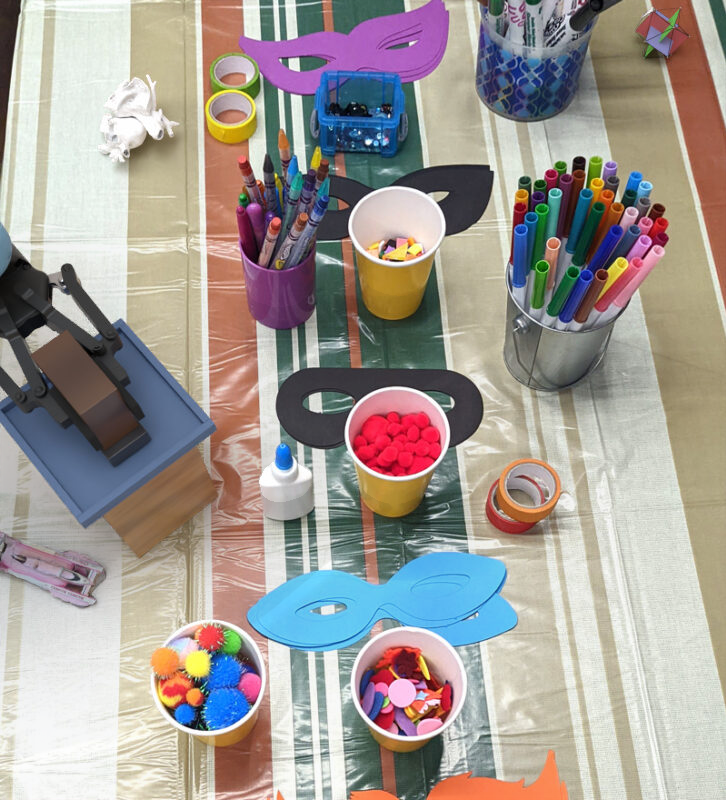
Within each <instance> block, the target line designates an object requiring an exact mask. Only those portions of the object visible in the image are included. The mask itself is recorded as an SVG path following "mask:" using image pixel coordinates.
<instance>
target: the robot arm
mask: <svg viewBox="0 0 726 800" xmlns="http://www.w3.org/2000/svg"><path fill="white" fill-rule="evenodd" d="M54 289H58V290H59V292H60V293H61V294H64V295H66V296H71V299H72V300H73V302H74V303H75V305H76V306H77V308H78V309H79V310H80V311H81V312H82V314H83V315H84V316H85V318H86V319H87V320H88V321H89V323H90V324H91V325H92V326H93V328H94V329H95V330H96V331H97V332H98V333H99V334H100V335H101V336H102V337H103V338H102V339H101V340H100V341H98V340H97V339H96V338H94V335H92V334H91V333H89V332H87V331H86V330H85V329H84V328H82V327H81V326H80V325H78V324H77V323H75V322H74V321H73V320H71V319H70V318H68V316H66V315H65V314H63V313H62V312H60V311H59V310H58V309H56V307H54V305H53V296H54V294H53V293H54ZM110 321H111V320H109V319H108V318H107V316H106V315H105V314H104V312H103V311H102V310H101V309H100V308H99V306H98V305H97V304H96V303H95V301H94V300H93V298H91V297H90V295H89V294H88V293H87V292H86V290H85V289H84V288H83V285H82V281H81V279H80V277H79V275H78V273H77V271H76V269H75V268H74V266H73V264H72V263H69V262H67V263H66V262H65V263H63V264H62V265H61V266H60V271H57V272H54V273H49V274H47V273H46V272H45V271H44V270H40V269H38V268H35V267H34V266H33V265H32V263H31V262H30V261H29V260H28V259H27V258H26V257H25V255H24V254H23V253H22V252H21V251H20V250H19V249H18V248H17V247H16V245H15V244H14V243H13V242H12V238H11V235H10V234H9V231H7V229H6V228H5V226H4V224H3V223H2V222H1V220H0V339H5V340H7V341H8V344H9V345H10V347H11V350H12V352H13V354H14V356H15V358H16V360H17V363H18V364H19V367H20V368H21V371H22V373H23V375H24V377H25V380H26V382H27V383H29V386H30V388H31V390H28V391H25V392H23V391H22V390H21V389H20V386H19V385H18V384H17V383H16V382H15V381H14V380H13V378H12V377H11V376H10V374H8V373H7V371H6V370H5V369H4V368H3V366H1V365H0V388H1V389H2V391H3V392H4V393H5V394H6V395H7V396H9V397H10V398H11V399H12V401H13V402H14V403H15V404H16V405H17V406H18V407H19V408H20V410H21V411H22V412H23V413H26V414H28V413H31V412H32V411H33V410H34V409H35V408H39V407H42V408H45V409H46V410H47V411H48V413H49V414H50V415H51V416H52V417H53V419H54V420H55V421H56V422H57V424H58V425H59V426H60V427H61V428H63V429H65V430H66V429H67V428H68V427H70V426H71V425H73V424H75V426H76V427H77V428H78V429H79V431H80V432H81V433H82V434H83V435H84V437H85V438H86V439H87V440H88V442H89V443H90V444H91V445H92V446H93V448H94V449H95V450H96V451H97V452H98V451H99V450H100V449H102V448H103V445H102V444H101V442H100V441H99V439H98V438H97V437H96V435H95V434H94V433H93V432H92V430H91V429H90V428H89V427H88V425H87V424H85V422H84V421H83V420H82V419H81V418H80V416H79V415H78V414H77V413H76V411H75V410H74V409H73V408H72V407H71V405H70V404H69V403H68V402H67V401H66V399H65V398H64V397H63V396H62V395H61V393H60V392H59V391H58V390H57V388H56V387H55V386H54V387H52V388H51V389H49V388H48V385H47V383H46V381H45V379H44V377H43V375H42V371H41V370H40V368H39V367H38V366H37V364H36V363H35V361H34V360H33V359H32V357H31V356H30V354H32V353H33V352H32V350H31V348H30V345H29V343H28V341H27V338H28V337H29V336H30V335H31V334H33V332H34V331H35V330H38V329H41V328H43V327H44V326H45V327H47V328H48V329H50V330H51V331H52V332H54V333H55V332H56V333H57V334H58V335H59V334H61V333H62V332H64V331H65V330H68V332H69V333H70V334H71V335H72V336H73V337H74V339H75V340H76V341H77V342H78V343H79V344H80V346H81V347H82V348H83V349H84V350H85V351H86V353H87V354H88V355H89V356H90V357H91V358H92V360H93V361H94V362H95V363H96V364H97V366H98V367H99V368H100V369H101V370H102V371H103V373H104V374H105V375H106V376H107V377H108V378H109V380H110V381H111V382H112V383H113V384H114V385H115V387H116V388H117V389H118V391H119V393H120V394H121V396H122V398H123V400H124V401H125V403H126V405H127V407H128V408H129V410H130V412H131V413H132V414H133V415H134V416H135V417H136V419H137V420H138V421H140V420H141V419H143V418H144V417H145V415H144V413H143V411H142V409H141V408H140V406H139V404H138V403H137V401H136V400H135V399H134V398H133V397H132V396H131V395H130V393H129V392H128V391H127V390H126V389H125V387H126V386H127V385H129V384H130V383H131V381H130V378H129V376H128V374H127V372H126V371H125V369H124V368H123V367H122V366H121V365H120V364H119V363H118V361H117V360H116V359H115V358H114V355H115V353H116V352H117V351H119V350H121V349H122V348H123V343H122V340H121V338H120V336H119V335H118V333H117V331H116V329H115V328H114V326H113V325H112V324H113V323H111V322H110Z"/></svg>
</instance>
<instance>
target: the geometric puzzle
mask: <svg viewBox="0 0 726 800" xmlns="http://www.w3.org/2000/svg"><path fill="white" fill-rule="evenodd" d="M673 9H675V10H676V7H673V8H672V7H671V8H670V10H673ZM665 10H667V8H663V9H660V10H659V9H657V8H656V7H654V6H651V7H650V8H649V9H647V10H646V11H645V12H643V14H641V16H640V19H639V21H638V23H637V25H636V28H635V29H634V32H635V33H636V34H635V35H636V37H637V41H638V43H639V47H640V48H641V45H640V39H639V37H638V36H640V38H641V39H642V40H643V41H644V43H645V44H647V48H646V49H644V51H643V59H651V56H648V55H649V54H650V53H651V52H652V51H653V50H654V49H655V50H657V52H659V53H660V54H662V55H663V57H665V58H667V59H668V58H669V57H670V56H672V54H674V52H676V51H677V50H678V49H679V48H680V46H682V45H683V44H684V42H685V41H687V40H688V39H689V38H690V37H691V36H690V34H689V30H688V29H686V31H687V32H688V33H687V32H686V31H685V30H684V29H683V28H682V27H681V26H680V22H678V24H677V20H678V19H680V18H681V17H680V16H681V13H680V12H681V10H682V7H681V6H680V7H679V8H678V10H677V11H676V12H675V13H674V14H672V16H671V17H670V18H669V17H668V16H666V15H665V14H664V13H662V12H661V11H665ZM644 18H645V19H644ZM643 19H644V20H643ZM682 19H683V21H684V22H686V21H685V18H684V14H683V13H682ZM642 20H643V21H642ZM643 37H644V38H645V39H644V38H643ZM647 56H648V57H647ZM654 58H661V56H660V55H657V56H653V59H654Z"/></svg>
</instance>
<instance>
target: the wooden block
mask: <svg viewBox="0 0 726 800" xmlns="http://www.w3.org/2000/svg"><path fill="white" fill-rule="evenodd" d="M219 497H220V494H219V492H218V490H217V488H216V486H215V484H214V481H213V479H212V477H211V474H210V472H209V469H208V468H207V465H206V463H205V461H204V459H203V456H202V454H201V451H200V449H199V447H198V445H197V446H195V447H194V448H193V449H191V450H190V451H189V452H187V453H186V454H185V455H183V456H182V457H181V458H179V459H178V460H177V461H175V462H174V463H173V464H171V465H170V466H169V467H167V468H166V469H165V470H163V471H162V472H161V473H159V474H158V475H157V476H155V477H154V478H153V479H151V480H150V481H149V482H147V483H146V484H145V485H143V486H142V487H141V488H139V489H138V490H137V491H135V492H134V493H133V494H131V495H130V496H129V497H127V498H126V499H125V500H123V501H122V502H121V503H119V504H118V505H117V506H115V507H114V508H113V509H112V510H110V511H109V512H108V513H106V514H105V515H104V516H102V517H103V518H104V519H105V520H106V522H107V523H108V524H109V525H110V527H111V528H112V529H113V530H114V531H115V532H116V534H117V535H118V536H119V537H120V538H121V540H123V542H124V543H125V544H126V545H127V546H128V548H129V549H130V550H131V551H132V553H133V554H134V555H135V556H136V557H137V558H138V559H140V558H142V557H143V556H145V554H147V553H148V552H149V551H150V550H152V549H154V548H155V547H156V546H157V545H158V544H160V543H161V542H162V541H164V540H165V539H166V538H168V537H169V536H170V535H172V534H173V533H174V532H175V531H177V530H178V529H179V528H180V527H182V526H183V525H184V524H185V523H187V522H188V521H189V520H191V519H192V518H194V516H196V515H197V514H199V513H200V512H201V511H203V510H204V509H205V508H206V507H207V506H209V505H210V504H211V503H213V502H214V501H216V500H217V499H218V498H219Z"/></svg>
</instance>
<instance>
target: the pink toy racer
mask: <svg viewBox="0 0 726 800" xmlns="http://www.w3.org/2000/svg"><path fill="white" fill-rule="evenodd" d="M2 544H3V547H2V549H1V550H0V571H2V572H3V573H5V574H9V575H13V576H14V577H15V578H18V579H19V578H20V579H21V580H22V579H23V580H24V581H27V582H28V583H31V584H33V585H34V586H35V585H36V586H38V587H39V588H41V589H43V590H44V591H45V590H46V591H49V592H50V593H51V597H54V598H57V599H60V600H62V602H64V603H66V604H67V603H70V604H72V605H73V606H75V607H77V608H79V609H80V608H81V609H83V608H86V607H88V606H90V605H94V604H95V603H96V602H97V600H96V599H95V597H94V595H93V594H92V592H93V591H94V590H95V588H97V587H98V586H99V585H100V584H101V583H102V582H103V580H105V579H106V573H105V571H104V567H103V566H102V565H100V564H99V563H98V562H97V561H96V560H93V559H92V558H90V557H89V556H88V555H85V554H83V553H79V552H77V551H73V550H63V551H62V550H56V549H52V548H49V547H45V546H42V545H39V544H36V543H34V542H31V541H27V540H24V539H23V538H22V539H21V538H18V537H15V536H10V535H9V534H7V533H6V532H4V531H1V530H0V546H1V545H2Z"/></svg>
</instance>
